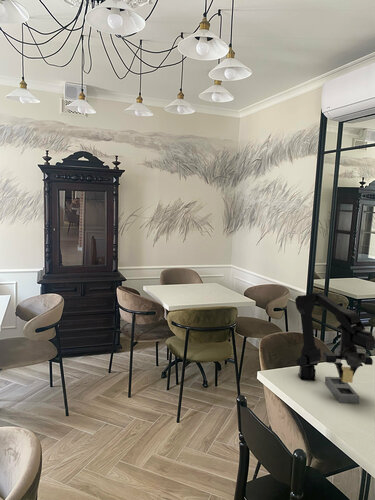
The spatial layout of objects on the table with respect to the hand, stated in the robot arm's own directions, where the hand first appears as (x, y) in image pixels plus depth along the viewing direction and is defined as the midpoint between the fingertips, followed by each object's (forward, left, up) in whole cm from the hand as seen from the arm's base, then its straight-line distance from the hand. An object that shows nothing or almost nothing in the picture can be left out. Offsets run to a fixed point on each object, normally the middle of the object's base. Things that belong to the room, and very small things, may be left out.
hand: (345, 377), depth 149 cm
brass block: (0, 0, -1) cm, 1 cm away
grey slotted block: (0, +4, -9) cm, 10 cm away
